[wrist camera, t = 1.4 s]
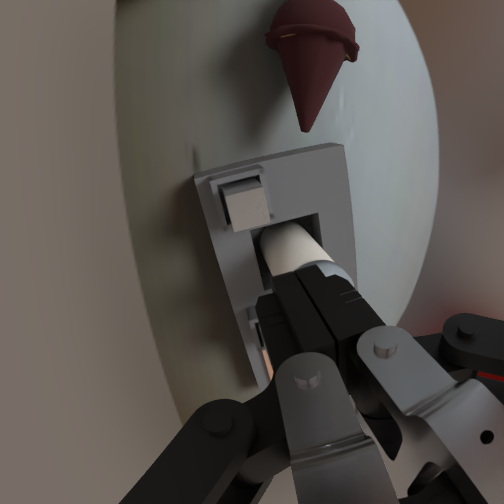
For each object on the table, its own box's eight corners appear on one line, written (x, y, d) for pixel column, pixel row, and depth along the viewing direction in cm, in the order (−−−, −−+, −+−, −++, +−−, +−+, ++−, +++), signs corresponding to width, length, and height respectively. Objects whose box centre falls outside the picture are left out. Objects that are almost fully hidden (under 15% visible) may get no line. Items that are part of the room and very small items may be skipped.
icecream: (375, 142, 19) (378, -24, 14) (285, 122, 16) (299, -64, 11) (317, 139, 25) (327, -2, 20) (238, 127, 22) (256, -28, 17)
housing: (194, 173, 24) (193, 184, 20) (331, 142, 25) (355, 147, 21) (257, 380, 35) (264, 408, 31) (350, 351, 36) (364, 375, 31)
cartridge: (253, 225, 27) (281, 280, 18) (302, 212, 27) (353, 259, 18) (263, 270, 29) (293, 337, 20) (309, 256, 29) (355, 316, 20)
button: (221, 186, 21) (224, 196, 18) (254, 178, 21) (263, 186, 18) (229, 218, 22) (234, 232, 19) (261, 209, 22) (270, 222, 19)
